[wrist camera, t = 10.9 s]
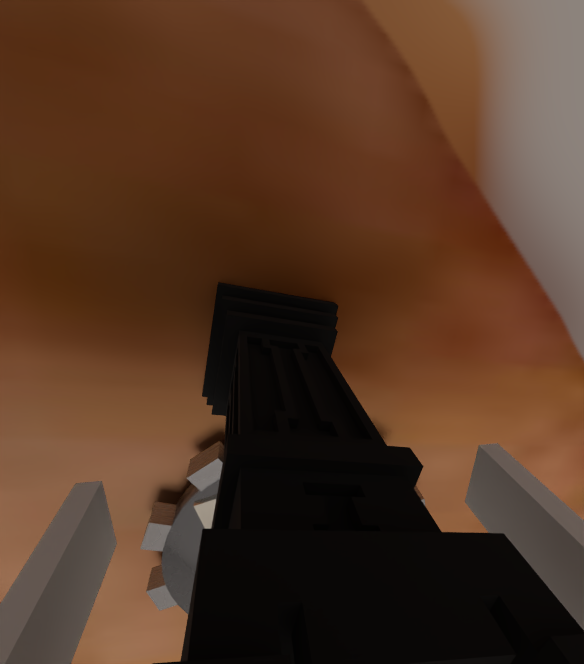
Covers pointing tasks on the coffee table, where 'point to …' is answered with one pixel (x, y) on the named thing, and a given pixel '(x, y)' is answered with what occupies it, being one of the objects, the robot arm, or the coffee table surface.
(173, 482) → the coffee table surface
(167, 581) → the sprocket
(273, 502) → the chess piece
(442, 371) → the coffee table surface
